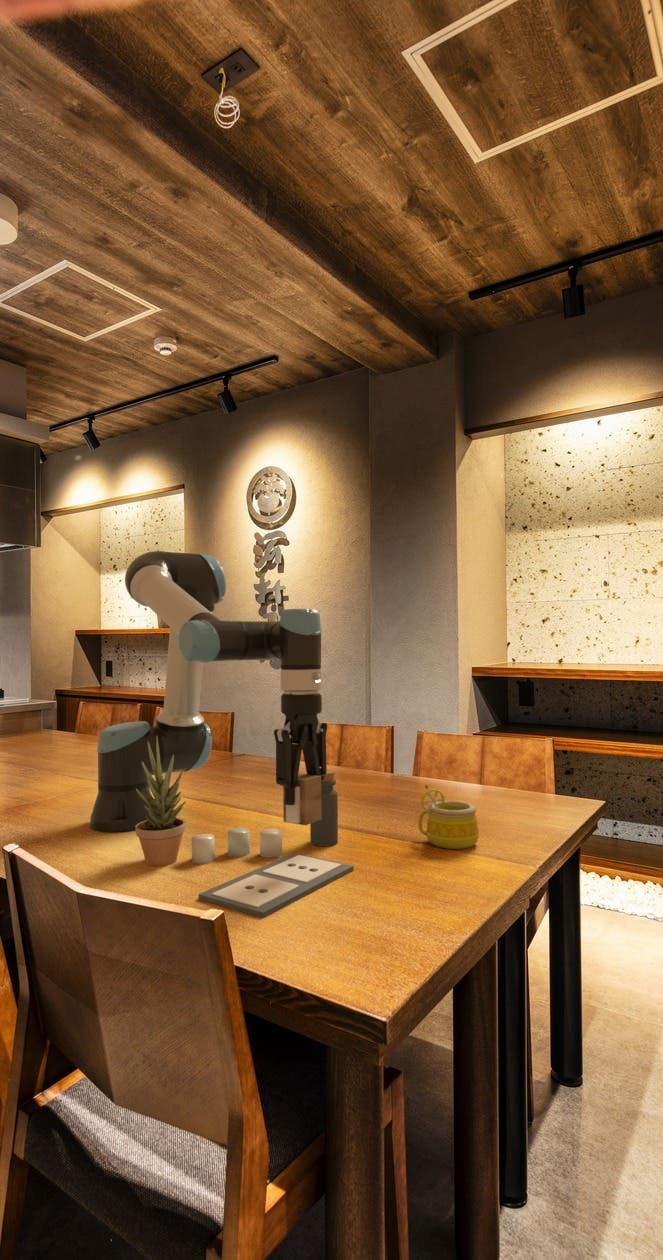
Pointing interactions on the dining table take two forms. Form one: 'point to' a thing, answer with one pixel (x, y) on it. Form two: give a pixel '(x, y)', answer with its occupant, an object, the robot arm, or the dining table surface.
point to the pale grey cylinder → (203, 848)
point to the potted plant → (161, 816)
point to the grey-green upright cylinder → (238, 842)
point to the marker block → (308, 799)
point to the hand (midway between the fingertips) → (302, 818)
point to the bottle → (326, 814)
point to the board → (276, 884)
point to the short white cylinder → (270, 843)
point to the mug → (449, 822)
